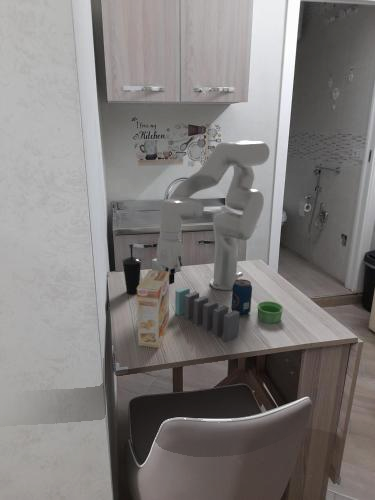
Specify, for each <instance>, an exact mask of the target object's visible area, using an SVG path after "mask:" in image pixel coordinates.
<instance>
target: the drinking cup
mask: <svg viewBox="0 0 375 500" xmlns="http://www.w3.org/2000/svg"><path fill="white" fill-rule="evenodd" d="M142 261H143V260H142V259H141V258H140V257H137V256H134V255H133V244H130V256H127V257H125V258H122V261H121V263H122V267H123V273H124V280H125V286H126V287H125V288H126V289H125V290H126V293H127V294H128V295H137V287H138V285H139V284H140V283H141V282H140V281H141V279H140V278H141V268H142V267H141V266H142V265H141V264H142Z"/></svg>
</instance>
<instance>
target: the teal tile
mask: <svg viewBox="0 0 375 500" xmlns="http://www.w3.org/2000/svg"><path fill="white" fill-rule="evenodd" d="M190 290H191V289H190V288H189V287H187V286H184V287H182V288H179V289H176V290H175V291H174V292H175V294H174V295H175V297H174V298H175V300H174V301H175V302H174V303H175V306H174V307H175V311H174V312H175V314H176V315H178V316H181V315H183V314H184V311H185V295H187V294H190V293H191V291H190Z"/></svg>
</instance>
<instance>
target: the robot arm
mask: <svg viewBox="0 0 375 500" xmlns="http://www.w3.org/2000/svg"><path fill="white" fill-rule="evenodd" d="M270 154H271V153H270V147H269V146H268V144H267V143H265V142H263V141H253V140H237V141H234V142H230V141H228V142H227V141H223V142H220V143H218V144H216V145H215V147H214V148H213V149H212V151H211V153H210V154H209V156H208V157H207V159H206V160H205V161H204V163H203V164H202V166H201V167H200V169H198V171H196V172H195V173H193V174H192V175H190V176H189V177H187V178H185V179H184V180H183V181H181V182H180V183H179V184H178V185H177V186H176V187H175V189H174V191H173V192H172V193H171V194H170V196H169V198H168V199H162V201H160V210H159V211H160V213H159V217H160V218H159V237H158V239H157V246H156V261H157V263H159V264H160V265H161V266H163V268H164V271H167V272H169V285H172V284H174V283H175V274H176V273H179V272H181V271H182V270H181V269H182V268H181V267H183V263H184V261H183V260H184V255H183V254H184V252H183V241H182V223H183V221H194V220H198V219H199V218H201V217H202V215H203V214H204V211H205V209H204V205H203V203H202V202H201V201H200V200H198V199H196V198H193V197H192V196H193V195H194V194H197V193H198V192H201V191H203V190H207V189H210V188H213V187H215V186H218V184H219V183H220V181H221V180H222V179H223V177H224V175H225V174H226V172H227V171H228V170H229V168H230V167H233V176H232V180H231V181H230V185H229V187H228V189H227V192H226V196H225V201H224V202H225V206H226V207H227V208H228V209H230V210H233V211H237V212H242V214H240V213H236V212H230V211H221V212H218V213H217V214H216V215H215V216H214V219H213V222H212V223H213V224H212V225H213V232H214V233H213V234H214V257H213V258H214V260H213V261H214V263H213V278H211V279H210V281H209V285H210V287H212V288H214V289H216V290H218V291H219V290H220V291H232V289H233V285H234V283H235V281H236V280H239V278H241V277H243V276H244V273H243V272H242V271H240V272H238V273H237V271H238V270H237V269H238V268H237V267H238V253H239V244H238V240H241V241H248V240H250V239H251V238H252V236H254V234H255V231H256V228H257V225H258V222H259V220H260V217H261V214H262V212H263V208H264V203H265V201H264V200H265V197H264V195H263V193H262V192H261V191H260V190H257V189H254V188H253V183H254V181H255V173H254V170H253V167H255V166H261V165H264V164H265V163H266V162H267V161H268V159H269V158H270V157H269V156H270Z"/></svg>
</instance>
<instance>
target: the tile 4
mask: <svg viewBox="0 0 375 500" xmlns="http://www.w3.org/2000/svg"><path fill="white" fill-rule="evenodd" d="M218 307H219V302H218V301H216V300H215V299H213V300H212V301H208V303H206V304H204V305H203V323H202V330H204V331H205V332H208V331H210V330H213V310H214V309H216V308H218Z"/></svg>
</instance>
